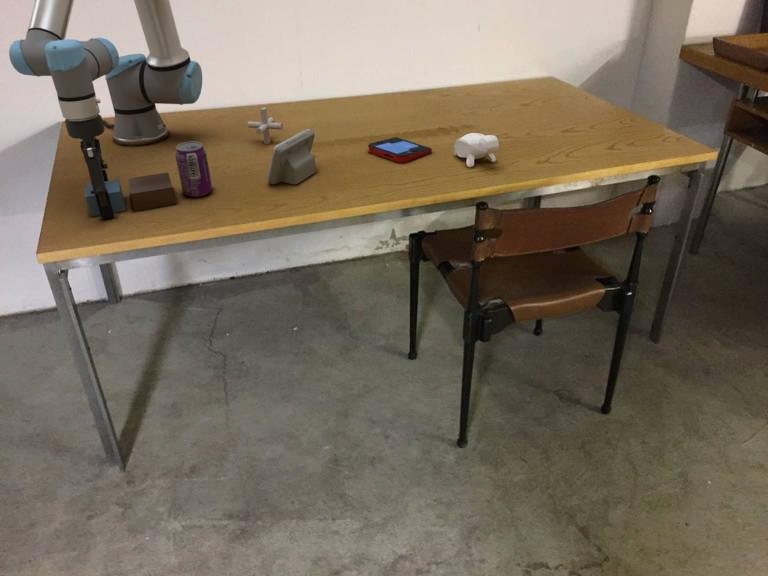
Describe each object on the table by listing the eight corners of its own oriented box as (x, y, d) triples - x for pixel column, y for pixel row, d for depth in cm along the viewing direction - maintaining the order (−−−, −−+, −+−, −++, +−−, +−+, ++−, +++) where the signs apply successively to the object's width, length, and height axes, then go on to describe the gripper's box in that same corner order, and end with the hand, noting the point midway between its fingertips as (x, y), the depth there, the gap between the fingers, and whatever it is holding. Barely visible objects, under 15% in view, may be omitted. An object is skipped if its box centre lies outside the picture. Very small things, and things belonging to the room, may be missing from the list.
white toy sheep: (452, 168, 175) (482, 166, 161) (447, 137, 173) (477, 132, 159) (478, 162, 178) (510, 160, 165) (474, 132, 176) (505, 127, 163)
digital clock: (304, 162, 172) (301, 124, 166) (328, 171, 167) (326, 131, 161) (258, 181, 162) (253, 141, 156) (282, 191, 157) (278, 150, 151)
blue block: (90, 203, 152) (85, 184, 149) (123, 198, 154) (118, 179, 152) (91, 216, 146) (85, 196, 144) (125, 210, 149) (120, 191, 146)
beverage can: (218, 189, 158) (210, 143, 152) (200, 200, 153) (191, 153, 146) (195, 184, 161) (187, 139, 154) (177, 195, 155) (167, 148, 149)
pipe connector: (277, 149, 181) (274, 114, 175) (244, 147, 182) (240, 113, 177) (289, 137, 189) (285, 104, 183) (257, 135, 190) (253, 102, 185)
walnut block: (132, 195, 156) (127, 178, 153) (171, 189, 159) (168, 172, 156) (134, 211, 148) (130, 193, 146) (176, 204, 151) (172, 186, 149)
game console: (433, 152, 177) (433, 144, 176) (401, 165, 170) (401, 157, 168) (396, 140, 186) (396, 132, 184) (364, 151, 178) (364, 144, 177)
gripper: (102, 131, 130) (126, 225, 142) (99, 99, 149) (121, 184, 161) (62, 136, 128) (90, 231, 140) (64, 103, 147) (89, 189, 158)
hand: (107, 206), depth 150 cm, fingers open, 12 cm apart
